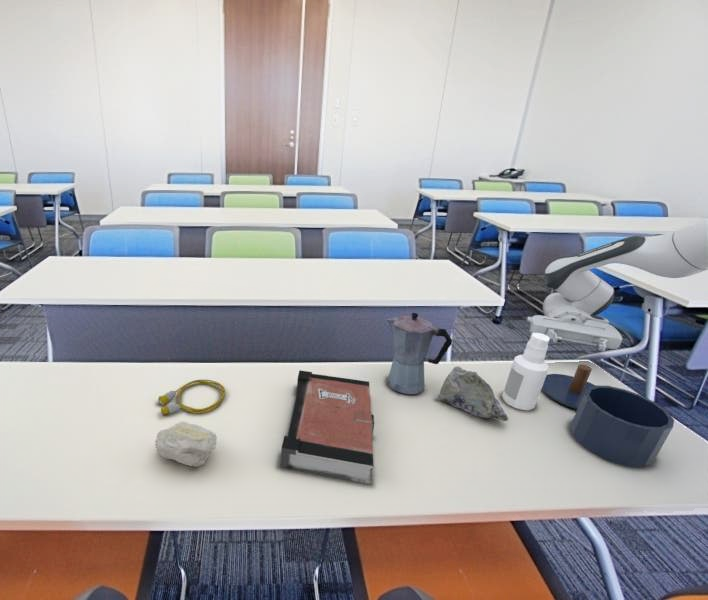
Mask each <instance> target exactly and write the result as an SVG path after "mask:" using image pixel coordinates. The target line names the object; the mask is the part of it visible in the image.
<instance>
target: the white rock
mask: <svg viewBox="0 0 708 600" xmlns="http://www.w3.org/2000/svg"><path fill="white" fill-rule="evenodd" d="M154 445H155V450H156V452H157V454H158V455H159V456H160V457H161V458H163V459H169V460H174V461H176V462H177V463H180V464H183V465H186V466H190V467H200V466H202V465H204V464H205V463H206V461H207V459H208V458H209V456H210V455H211V452H212V451H214V450H215V449H216V448H217V447H216V445H217V435H216V432H214V431H212V430H210V429H207V428H205V427H203V426H200V425H197V424H194V423H190V422H187V421H179V422H177V423H175V424H174V425H171V426H169V428H165V429H161V430H159V431H158V432H157V434H156V439H155V444H154Z"/></svg>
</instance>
